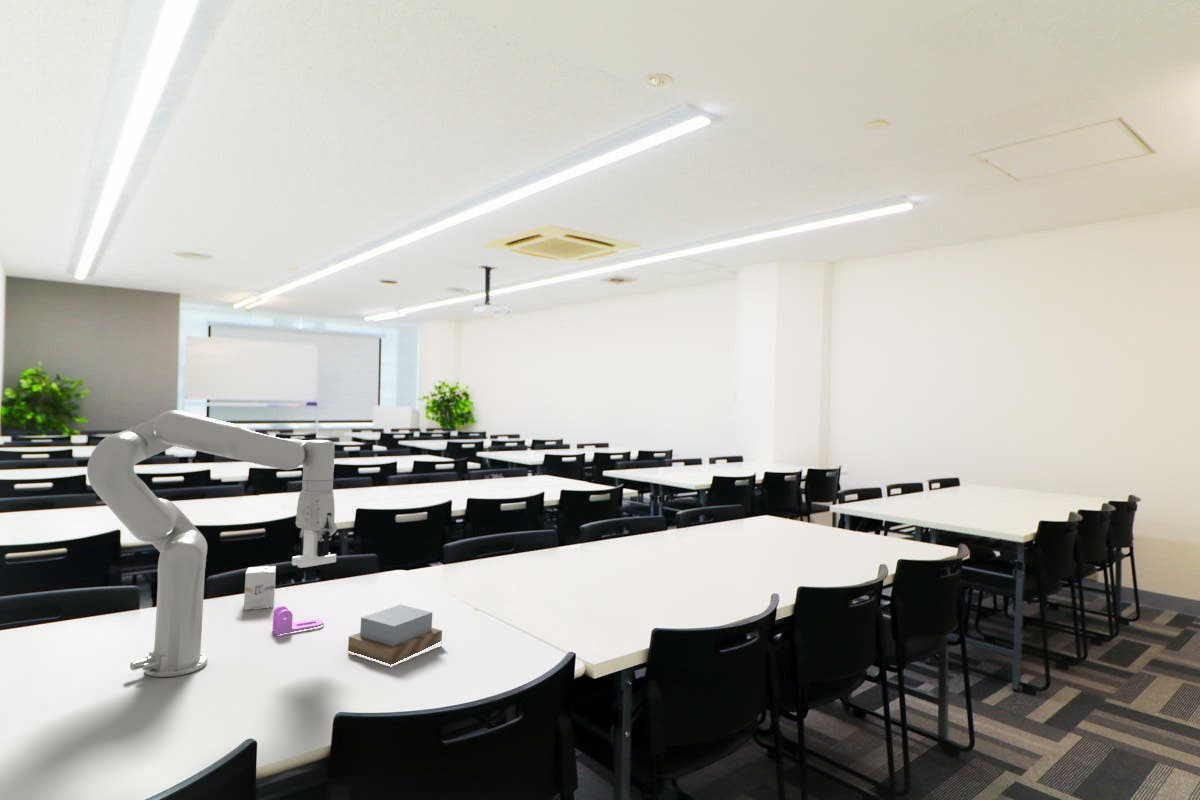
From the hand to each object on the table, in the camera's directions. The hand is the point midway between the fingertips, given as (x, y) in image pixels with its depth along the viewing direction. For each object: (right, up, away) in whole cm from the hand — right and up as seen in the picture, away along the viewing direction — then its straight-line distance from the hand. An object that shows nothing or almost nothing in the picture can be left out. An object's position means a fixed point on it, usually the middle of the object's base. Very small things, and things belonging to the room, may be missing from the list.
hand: (314, 553), depth 170 cm
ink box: (-33, -25, +34) cm, 54 cm away
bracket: (-11, -26, +14) cm, 32 cm away
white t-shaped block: (0, -3, 0) cm, 3 cm away
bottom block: (+21, -27, +2) cm, 34 cm away
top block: (+21, -22, +2) cm, 31 cm away
